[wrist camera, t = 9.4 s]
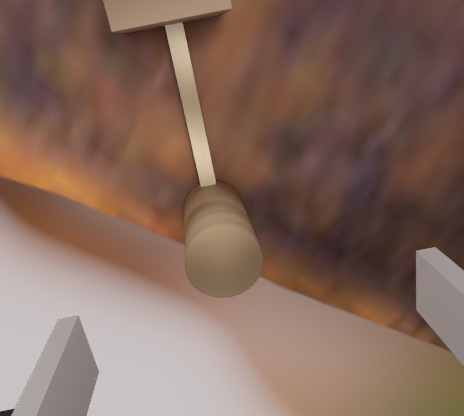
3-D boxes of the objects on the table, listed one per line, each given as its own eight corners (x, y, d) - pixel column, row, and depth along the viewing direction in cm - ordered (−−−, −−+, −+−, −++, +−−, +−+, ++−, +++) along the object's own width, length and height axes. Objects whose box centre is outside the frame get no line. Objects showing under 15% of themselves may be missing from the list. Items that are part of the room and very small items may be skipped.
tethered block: (257, 225, 27) (282, 285, 20) (180, 242, 26) (180, 307, 20) (201, -99, 20) (211, -166, 14) (97, -80, 20) (56, -138, 13)
